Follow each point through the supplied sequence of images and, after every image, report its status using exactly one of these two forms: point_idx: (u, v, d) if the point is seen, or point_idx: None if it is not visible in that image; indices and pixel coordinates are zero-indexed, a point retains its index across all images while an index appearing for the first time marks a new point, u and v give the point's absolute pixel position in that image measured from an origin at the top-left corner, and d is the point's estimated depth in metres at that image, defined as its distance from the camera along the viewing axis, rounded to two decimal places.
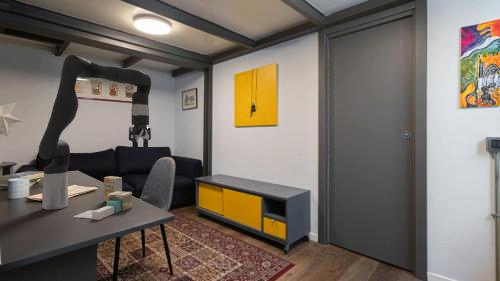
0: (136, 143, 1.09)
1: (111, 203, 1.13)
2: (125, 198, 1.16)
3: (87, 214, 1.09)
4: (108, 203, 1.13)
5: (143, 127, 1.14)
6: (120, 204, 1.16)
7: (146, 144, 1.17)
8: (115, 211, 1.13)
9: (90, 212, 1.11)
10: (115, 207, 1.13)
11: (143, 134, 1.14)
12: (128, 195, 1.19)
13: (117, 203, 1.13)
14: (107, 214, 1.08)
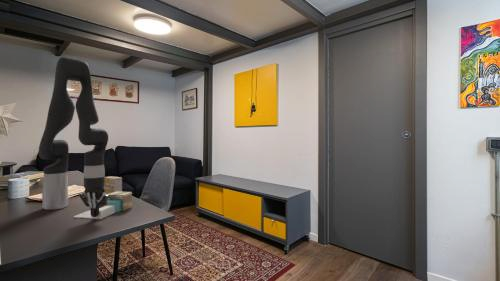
0: None
1: (111, 203, 1.13)
2: (125, 198, 1.16)
3: (87, 214, 1.09)
4: (108, 203, 1.13)
5: None
6: (120, 204, 1.16)
7: None
8: (115, 211, 1.13)
9: (90, 212, 1.11)
10: (115, 207, 1.13)
11: None
12: (128, 195, 1.19)
13: (117, 203, 1.14)
14: (108, 213, 1.09)
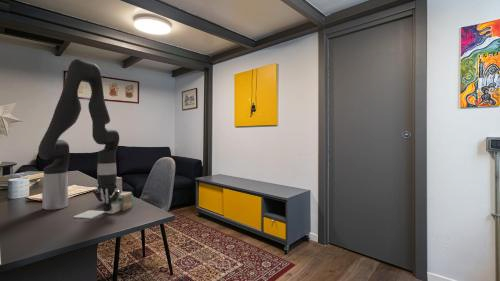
0: None
1: None
2: (125, 198, 1.16)
3: (87, 214, 1.09)
4: (119, 198, 1.21)
5: None
6: None
7: None
8: None
9: (90, 212, 1.11)
10: None
11: None
12: (128, 195, 1.19)
13: None
14: (119, 208, 1.16)
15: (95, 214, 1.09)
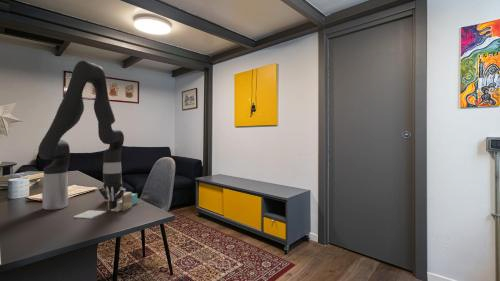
0: None
1: None
2: (125, 198, 1.16)
3: (87, 214, 1.09)
4: None
5: None
6: (134, 198, 1.27)
7: None
8: None
9: (90, 212, 1.11)
10: None
11: None
12: (128, 195, 1.19)
13: (132, 197, 1.24)
14: None
15: (95, 214, 1.09)
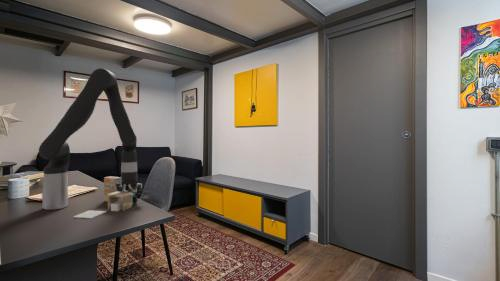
0: None
1: None
2: (125, 198, 1.16)
3: (87, 214, 1.09)
4: None
5: None
6: None
7: None
8: None
9: (90, 212, 1.11)
10: None
11: None
12: (128, 195, 1.19)
13: (132, 197, 1.24)
14: None
15: (95, 214, 1.09)
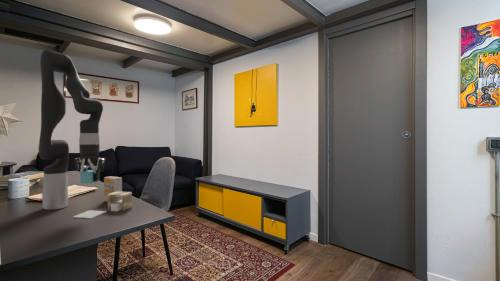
0: None
1: (85, 173, 1.07)
2: (125, 198, 1.16)
3: (87, 214, 1.09)
4: (82, 173, 1.07)
5: None
6: None
7: None
8: (89, 182, 1.07)
9: (90, 212, 1.11)
10: (89, 177, 1.07)
11: None
12: (128, 195, 1.19)
13: (92, 173, 1.07)
14: None
15: (95, 214, 1.09)
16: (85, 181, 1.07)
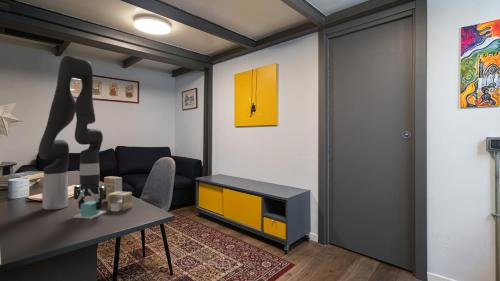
0: None
1: (85, 206, 1.07)
2: (125, 198, 1.16)
3: None
4: (82, 206, 1.07)
5: None
6: None
7: None
8: (90, 214, 1.07)
9: None
10: (90, 210, 1.07)
11: None
12: (128, 195, 1.19)
13: (92, 206, 1.08)
14: None
15: (95, 214, 1.09)
16: (85, 213, 1.07)
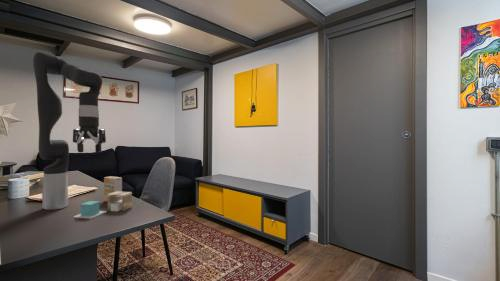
0: None
1: (85, 206, 1.07)
2: (125, 198, 1.16)
3: None
4: (82, 206, 1.07)
5: None
6: (96, 207, 1.10)
7: (82, 147, 1.10)
8: (90, 214, 1.07)
9: None
10: (90, 210, 1.07)
11: None
12: (128, 195, 1.19)
13: (92, 206, 1.08)
14: None
15: (95, 214, 1.09)
16: (85, 213, 1.07)
